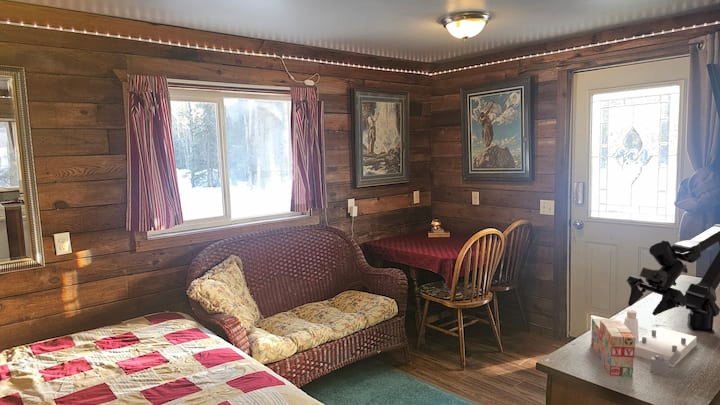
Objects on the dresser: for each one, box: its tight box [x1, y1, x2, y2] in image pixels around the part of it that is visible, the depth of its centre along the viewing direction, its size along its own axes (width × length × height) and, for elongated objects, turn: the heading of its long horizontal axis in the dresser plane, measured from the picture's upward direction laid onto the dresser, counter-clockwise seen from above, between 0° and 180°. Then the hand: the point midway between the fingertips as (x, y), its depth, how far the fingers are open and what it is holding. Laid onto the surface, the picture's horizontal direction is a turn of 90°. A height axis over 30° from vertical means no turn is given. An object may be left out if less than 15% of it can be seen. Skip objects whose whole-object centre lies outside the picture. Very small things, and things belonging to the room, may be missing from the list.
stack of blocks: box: [590, 317, 636, 378], centre depth 147 cm, size 21×6×12 cm, turn 168°
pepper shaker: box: [623, 309, 640, 345], centre depth 158 cm, size 5×5×11 cm
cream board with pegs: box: [634, 326, 697, 368], centre depth 153 cm, size 22×11×5 cm, turn 130°
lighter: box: [650, 350, 682, 377], centre depth 137 cm, size 7×2×8 cm, turn 53°
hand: (640, 309), depth 159 cm, fingers open, 9 cm apart
